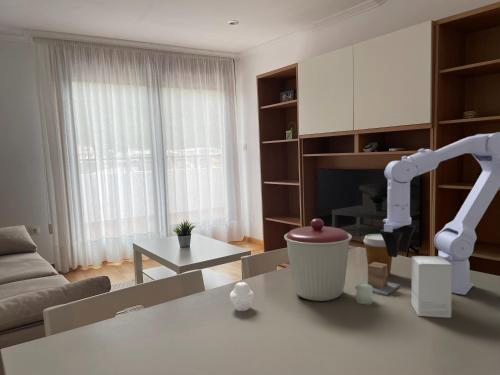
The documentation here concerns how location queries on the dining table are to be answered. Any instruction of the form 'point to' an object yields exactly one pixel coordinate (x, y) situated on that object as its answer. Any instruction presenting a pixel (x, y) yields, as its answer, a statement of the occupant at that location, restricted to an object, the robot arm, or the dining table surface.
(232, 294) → the white rounded piece
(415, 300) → the supplement box
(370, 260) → the disposable coffee cup
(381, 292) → the slate mat
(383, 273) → the walnut block
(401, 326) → the dining table surface
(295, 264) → the canister
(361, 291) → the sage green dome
